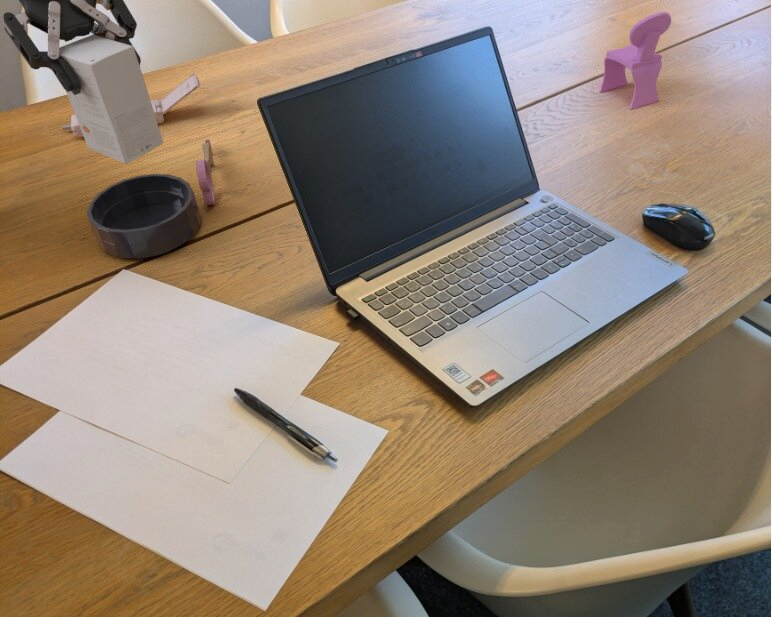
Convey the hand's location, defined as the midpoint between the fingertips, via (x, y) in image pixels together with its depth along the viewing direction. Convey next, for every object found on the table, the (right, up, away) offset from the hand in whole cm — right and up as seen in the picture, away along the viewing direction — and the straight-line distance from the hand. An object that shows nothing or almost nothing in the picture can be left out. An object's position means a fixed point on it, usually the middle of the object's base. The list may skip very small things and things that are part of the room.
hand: (108, 80), depth 80 cm
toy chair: (+77, +10, +38) cm, 86 cm away
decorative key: (+6, -7, +25) cm, 26 cm away
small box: (-1, -6, +7) cm, 10 cm away
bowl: (0, -16, +15) cm, 22 cm away
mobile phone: (-12, +6, +40) cm, 42 cm away
